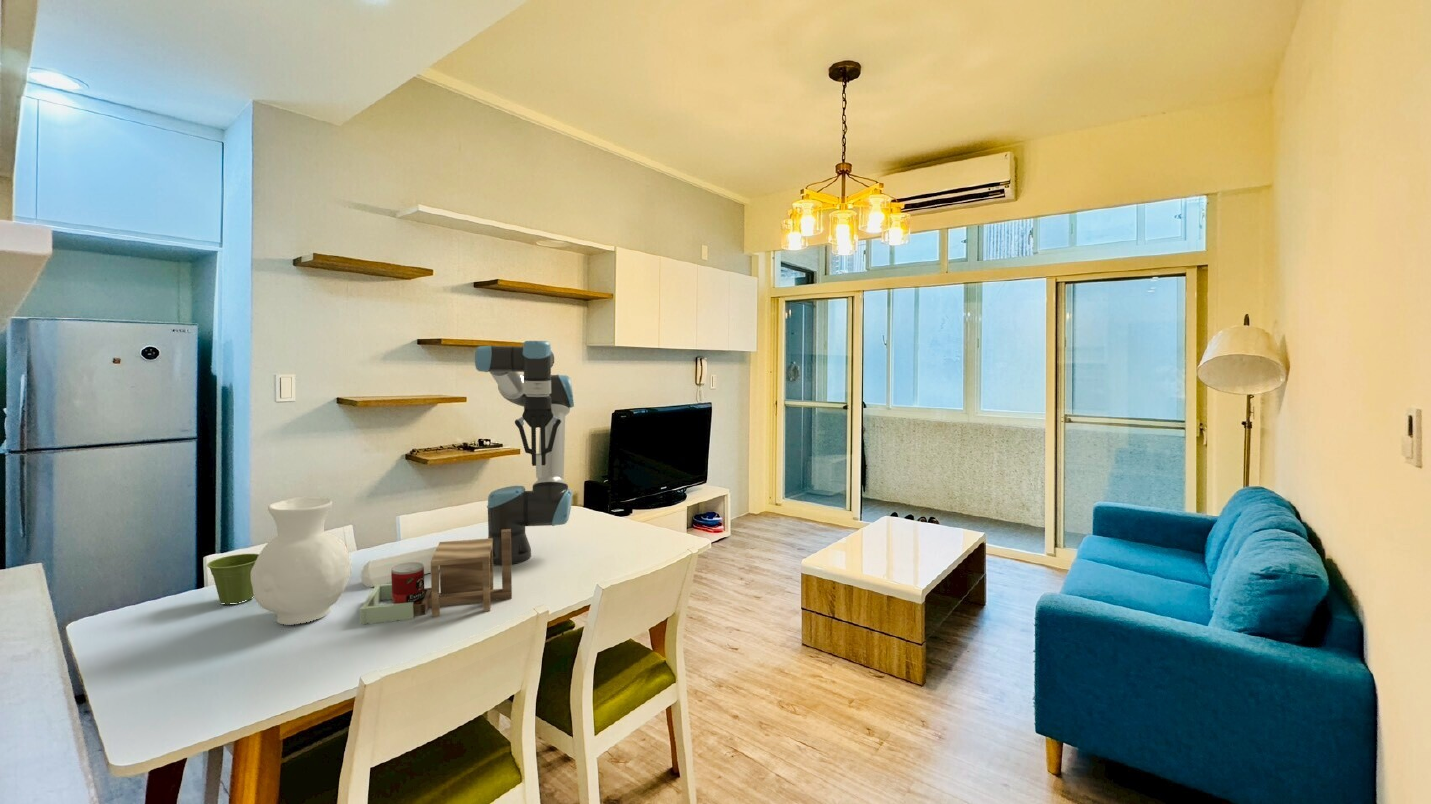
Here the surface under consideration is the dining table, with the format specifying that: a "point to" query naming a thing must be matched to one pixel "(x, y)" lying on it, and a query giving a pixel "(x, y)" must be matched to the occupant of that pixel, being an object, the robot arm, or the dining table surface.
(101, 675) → the dining table surface
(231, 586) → the plant pot
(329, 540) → the vase
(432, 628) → the dining table surface
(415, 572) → the canned food
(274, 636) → the dining table surface
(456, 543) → the stool
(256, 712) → the dining table surface
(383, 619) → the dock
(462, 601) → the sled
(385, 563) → the white faceted bar
